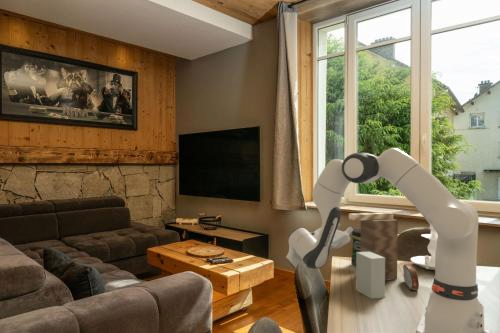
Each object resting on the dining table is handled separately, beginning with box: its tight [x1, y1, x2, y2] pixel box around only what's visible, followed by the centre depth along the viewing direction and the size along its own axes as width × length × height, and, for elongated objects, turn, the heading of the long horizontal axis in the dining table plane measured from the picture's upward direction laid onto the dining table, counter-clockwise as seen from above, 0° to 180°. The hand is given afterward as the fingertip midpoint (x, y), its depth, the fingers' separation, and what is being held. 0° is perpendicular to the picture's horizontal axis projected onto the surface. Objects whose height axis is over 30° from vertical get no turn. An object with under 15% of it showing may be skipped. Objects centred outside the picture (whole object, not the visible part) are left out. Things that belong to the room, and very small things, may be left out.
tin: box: [402, 263, 420, 291], centre depth 143 cm, size 15×3×8 cm, turn 168°
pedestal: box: [355, 251, 386, 300], centre depth 135 cm, size 6×10×15 cm, turn 15°
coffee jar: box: [351, 227, 361, 267], centre depth 172 cm, size 10×8×19 cm
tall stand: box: [360, 218, 399, 281], centre depth 156 cm, size 12×10×26 cm
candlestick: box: [410, 224, 438, 271], centre depth 168 cm, size 21×25×28 cm
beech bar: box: [348, 211, 394, 221], centre depth 155 cm, size 20×4×2 cm, turn 105°
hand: (345, 226), depth 151 cm, fingers open, 8 cm apart
